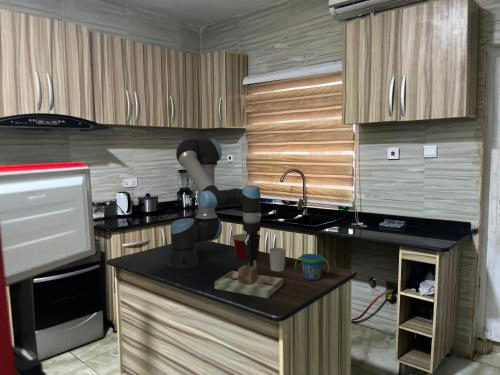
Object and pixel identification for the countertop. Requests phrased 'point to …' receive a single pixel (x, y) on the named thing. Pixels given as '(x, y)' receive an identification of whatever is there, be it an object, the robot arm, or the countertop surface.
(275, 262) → the white cup
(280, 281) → the frame
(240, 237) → the plastic cup
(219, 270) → the countertop surface
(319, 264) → the snack cup
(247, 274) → the walnut block
